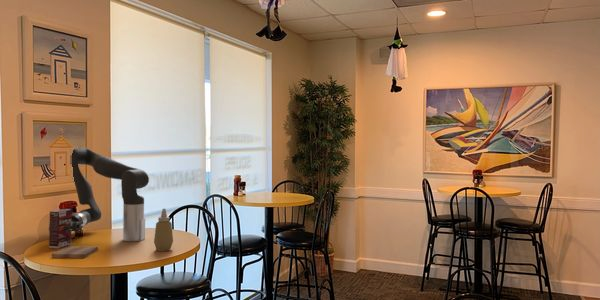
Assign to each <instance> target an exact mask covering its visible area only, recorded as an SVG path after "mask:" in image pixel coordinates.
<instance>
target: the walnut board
mask: <svg viewBox="0 0 600 300" xmlns="http://www.w3.org/2000/svg"><path fill="white" fill-rule="evenodd" d="M98 251H99V246H85V245H84V246H83V245H82V246H77V245H75V246H74V245H67V246H64V247H62V248H61V249H59V250H58V251H55V252H53V253H51V258H53V259H54V258H55V259H58V258H59V259H86V258H87V257H89V256H91V255H92V254H94V253H95V252H98Z"/></svg>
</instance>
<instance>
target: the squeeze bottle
mask: <svg viewBox="0 0 600 300" xmlns="http://www.w3.org/2000/svg"><path fill="white" fill-rule="evenodd" d="M157 220H158V221H157V222H156V223H155V230H154V239H153V240H154V241H153V243H154V247H155V250H156V251H158V252H167V251H170V250H171V249H172V246H173V243H174V238H173V237H174V236H173V235H174V234H173V226H172V221H170V216H168V215H167V210H166V208H162V211H161V215H160V216H158V219H157Z"/></svg>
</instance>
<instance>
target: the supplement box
mask: <svg viewBox="0 0 600 300" xmlns="http://www.w3.org/2000/svg"><path fill="white" fill-rule="evenodd" d="M72 211H73V210H72V209H71V208H62V209H61V208H60V209H56V210H51V211H49V224H50V228H49V227H48V232H49V235H48V236H49V237H48V239H49V240H48V245H49V247H48V248H50V249H60V248H65V247H67V246H71V245H72V231H71V230H68V231H64V227H65V226H67V225H69V224H71V223H72V214H73V212H72Z"/></svg>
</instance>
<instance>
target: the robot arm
mask: <svg viewBox="0 0 600 300" xmlns="http://www.w3.org/2000/svg"><path fill="white" fill-rule="evenodd" d="M78 164H81V165H87V166H90V167H92V168H93V170H94V172H95V173H96V174H98V175H99V176H102V177H105V178H108V179H113V180H121V196H122V197H121V198H122V201H123V203H122V205H123V206H122V207H123V211H122V212H123V213H122V215H123V217H122V220H123V221H122V231H123V232H122V234H123V235H122V237H123V238H122V240H123V241H125V242H141V241H143V240H144V239H146V218H145V198H144V196H142V195H139V194H138V191H137V190H138V189H143V188H145V187H147V186H148V184H149V182H150V177H149V175H148V173H147V172H146V171H145V170H143V169H140V168H137V167H132V166H128V165H127V164H124V163H122V162H120V161H117V160H115V159H112V158H110V157H107V156H104V155H103V154H99V153H96V152H95V151H93V150H91V149H90V148H88V147H86V148H78V149H74V150H73V153H72V167H73V177H74V181H73V183H74V182H75V183H74V186H75V189H76V193H77V198H78V202H79V204H80V205H81V206H87V205H88V206H89V207H90V208H86V209H85V208H84V209H82V210H80V211H78V212H75V213H72V223H71V224H69V225H67V226H65V227H64V231H68V230H71V232H75V231H77V230H79V229H83V228H84V227H85V226H86V225H88V224H89V223H93V222H97V221H99V220H101V217H102V211H101V209H100V207H99V205H98V203H97V201H96V200H95V197H94V193H93V188H92V186H91V183H90V182H89V180H88V179H87V178H86V177H85V176H84V175H83V173H82V172H81V169H80V167H79V166H80V165H78ZM48 225H49V226H48V229H49V228H50V223H49V224H48Z"/></svg>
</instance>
